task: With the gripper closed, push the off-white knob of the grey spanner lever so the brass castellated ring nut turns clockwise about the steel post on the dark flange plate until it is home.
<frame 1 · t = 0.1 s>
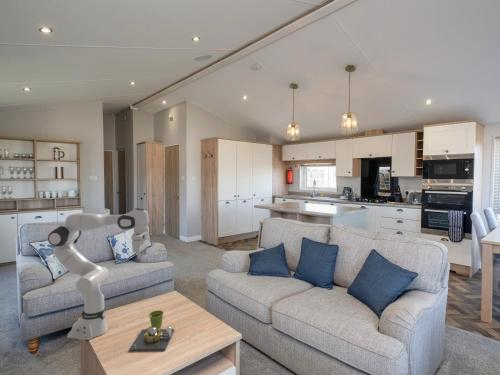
hand: (142, 256, 182), 48 cm above the table, fingers open, 8 cm apart
plant pot: (156, 327, 189), on the table
ring nut: (157, 332, 173), point 5 cm above the table, hinge at 0.0°
flange plate: (153, 340, 173), on the table
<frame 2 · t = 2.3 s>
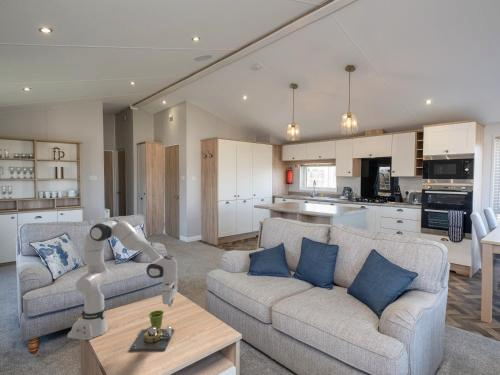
hand: (170, 305, 177), 19 cm above the table, fingers closed
nothing on the table moved.
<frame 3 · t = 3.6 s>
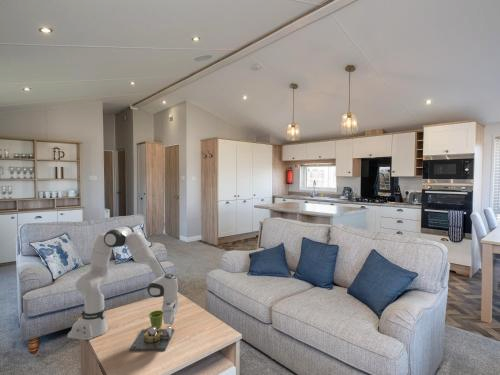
hand: (171, 323, 178), 7 cm above the table, fingers closed
nothing on the table moved.
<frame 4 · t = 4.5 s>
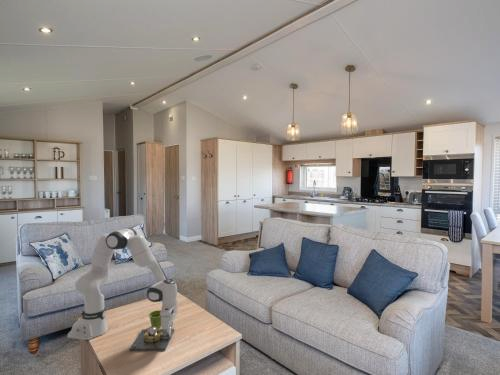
hand: (170, 329, 176), 5 cm above the table, fingers closed
ring nut: (157, 332, 173), point 5 cm above the table, hinge at 0.0°, touching gripper
everything else where it was.
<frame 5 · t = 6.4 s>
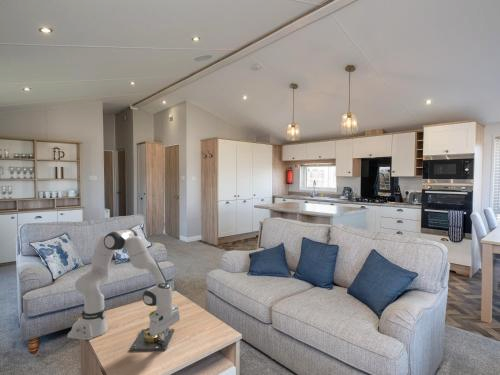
hand: (165, 335, 169), 5 cm above the table, fingers closed
ring nut: (155, 334, 171), point 5 cm above the table, hinge at 40.3°, touching gripper
everything else where it was.
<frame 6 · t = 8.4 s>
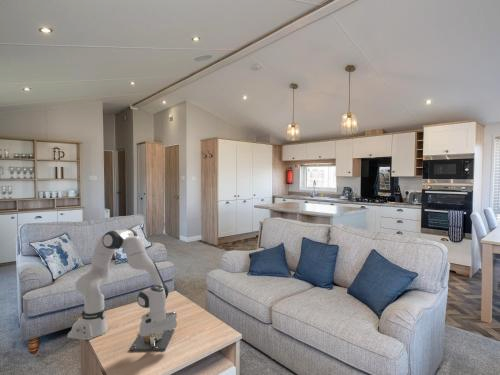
hand: (158, 338, 165), 5 cm above the table, fingers closed
ring nut: (152, 335, 170), point 5 cm above the table, hinge at 73.6°
everything else where it was.
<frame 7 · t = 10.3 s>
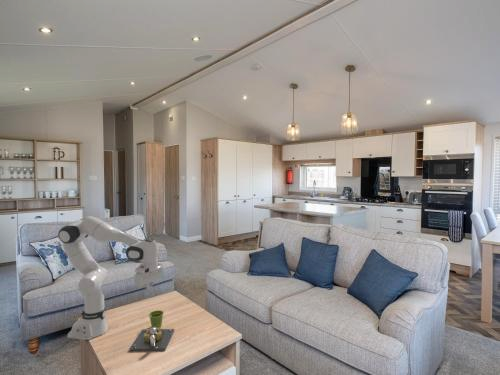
hand: (149, 289, 174), 30 cm above the table, fingers closed
nothing on the table moved.
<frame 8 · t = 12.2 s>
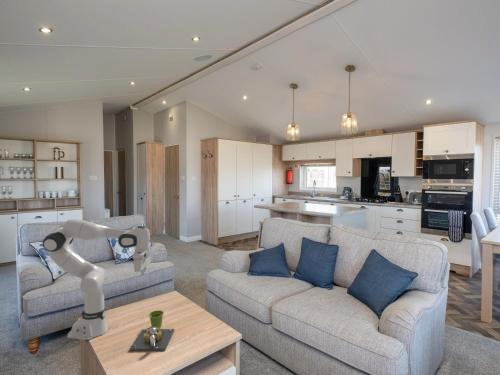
hand: (143, 274, 180), 37 cm above the table, fingers closed
nothing on the table moved.
at the end: ring nut at +74° (first picture: +0°); plant pot moved 0.2 cm from its start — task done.
